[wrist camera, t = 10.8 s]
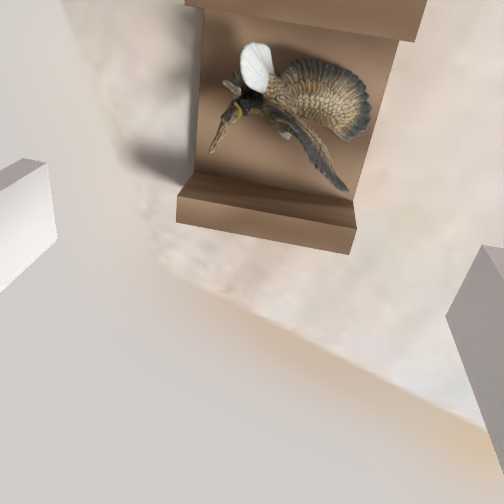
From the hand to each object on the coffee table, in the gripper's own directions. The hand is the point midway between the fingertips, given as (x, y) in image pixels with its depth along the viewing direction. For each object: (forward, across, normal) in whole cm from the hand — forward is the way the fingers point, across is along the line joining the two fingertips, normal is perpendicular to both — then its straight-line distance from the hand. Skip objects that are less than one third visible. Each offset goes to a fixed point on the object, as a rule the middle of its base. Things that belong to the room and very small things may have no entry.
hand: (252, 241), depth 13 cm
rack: (+19, 0, 0) cm, 19 cm away
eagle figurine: (+18, 0, 0) cm, 18 cm away
